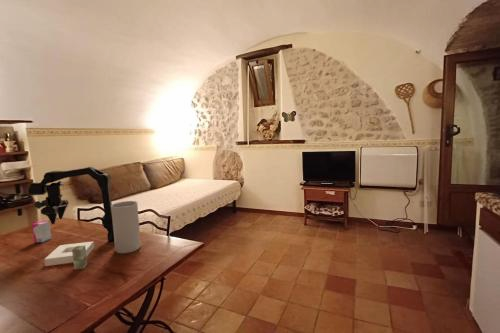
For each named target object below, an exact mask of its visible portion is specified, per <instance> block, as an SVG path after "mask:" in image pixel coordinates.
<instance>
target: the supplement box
mask: <svg viewBox="0 0 500 333" xmlns="http://www.w3.org/2000/svg"><path fill="white" fill-rule="evenodd" d="M51 232H52V231H51V225H50V220H49V221H48V220H40V221H38V222H35V223H32V234H33V240H34V244H36V243H37V244H44V243H46V242H48V241H51V240H52V235H51V234H52V233H51Z"/></svg>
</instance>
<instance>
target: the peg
mask: <svg viewBox="0 0 500 333" xmlns="http://www.w3.org/2000/svg"><path fill="white" fill-rule="evenodd" d="M72 254H73V262H72V263H73V269H74V270H81V269H85V268H86V267H87V265H88V259H87V257H88V256H87V257H86V248H85V245H84V246H76V247H75V248H74V249H73V250H72Z"/></svg>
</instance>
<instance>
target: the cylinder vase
mask: <svg viewBox="0 0 500 333" xmlns="http://www.w3.org/2000/svg"><path fill="white" fill-rule="evenodd" d="M138 206H139V205H138V202H137V201H135V200H128V201H127V200H126V201H125V200H124V201H120V202H115V203H112V205H111V210H112V221H113V231H114V242H113V243H114V250H115V252H116V253H117V254H123V255H124V254H130V253H134V252H135V251H137V250H139V249H140V248H141V245H142V243H141V232H140V219H139V208H138Z"/></svg>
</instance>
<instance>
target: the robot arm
mask: <svg viewBox="0 0 500 333" xmlns="http://www.w3.org/2000/svg"><path fill="white" fill-rule="evenodd" d="M85 175H88V176H89V177H91V178H92V179H93V180H95V181H96V183H97V185H98V187H99V189H100V191H101V192H100V193H101V197H102V198H101V200H102V205H103V212H104V215H103V216H102V217H101V218H100V220H101V223H102V224H101V226H103V228H104V229H106V230H107V234H106V235H107V236H106V237H107V242H108V243H111V242H113V243H115V242H114V231H113V221H112V210H111V205H113V203H112V197H111V189H110V188H111V183H112V176H111V175H110V174H109V173H107V172H103V171H101V170H99V169H97V168H95V167H93V166H88V167H83V168H76V169H72V170H71V169H70V170H51V171H48V172H45V173H44V175H43V178H42V179H41V181H40V182H31V183H29V187H28V190H27V191H28V194H29V195H30V196H44V195H46V194H47V196H46V197H45V199H43V200H38V201H35V202H34V208H36V209H38V210H39V209H40V214H41V215H44V216H46V217H47V218H48V219H49V222H50V223H51V225H55V224H56V220H57V218H58V219H59V220H62V219H63V217H64V214H65V212H66V210H67V208H68V205H69V204H70V203H69V200H67V199H62V197H63V194H61V187H62V186H64V185H65V182H62V181H61V180H63V179H66V178H73V177H78V176H79V177H81V176H85ZM57 216H58V217H57Z"/></svg>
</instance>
